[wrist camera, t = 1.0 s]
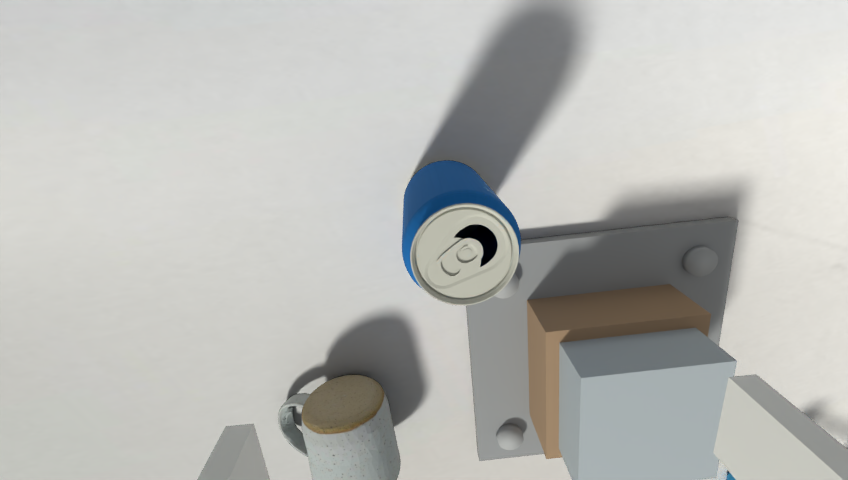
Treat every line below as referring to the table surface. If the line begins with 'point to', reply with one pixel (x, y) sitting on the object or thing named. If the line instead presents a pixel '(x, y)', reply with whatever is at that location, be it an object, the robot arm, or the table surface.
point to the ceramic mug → (344, 430)
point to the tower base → (579, 277)
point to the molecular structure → (730, 477)
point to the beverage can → (457, 235)
